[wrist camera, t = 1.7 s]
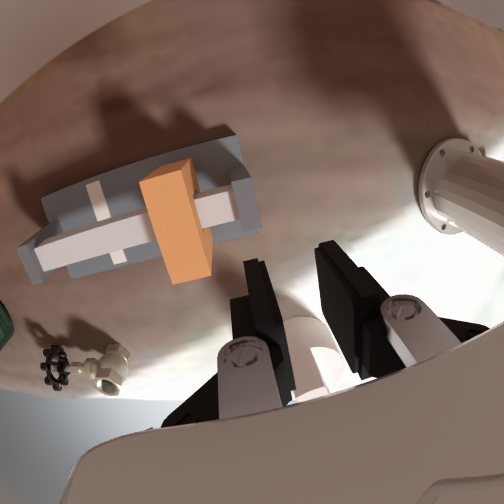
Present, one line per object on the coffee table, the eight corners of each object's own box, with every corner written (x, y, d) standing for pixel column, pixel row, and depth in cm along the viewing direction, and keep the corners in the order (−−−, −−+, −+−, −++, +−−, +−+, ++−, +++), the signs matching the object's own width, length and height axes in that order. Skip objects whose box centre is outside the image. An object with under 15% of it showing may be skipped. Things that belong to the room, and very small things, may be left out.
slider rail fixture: (236, 134, 29) (242, 137, 21) (257, 228, 33) (269, 262, 25) (46, 195, 29) (4, 218, 21) (76, 273, 33) (46, 312, 25)
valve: (124, 333, 37) (52, 335, 36) (112, 367, 31) (34, 365, 30) (139, 369, 39) (69, 369, 39) (130, 404, 33) (55, 399, 33)
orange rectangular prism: (191, 157, 27) (180, 169, 20) (213, 237, 30) (211, 275, 23) (160, 166, 27) (138, 181, 20) (183, 244, 30) (172, 284, 23)
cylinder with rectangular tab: (336, 351, 41) (366, 415, 30) (278, 376, 42) (294, 444, 31) (319, 305, 38) (353, 372, 27) (253, 333, 38) (265, 407, 27)
